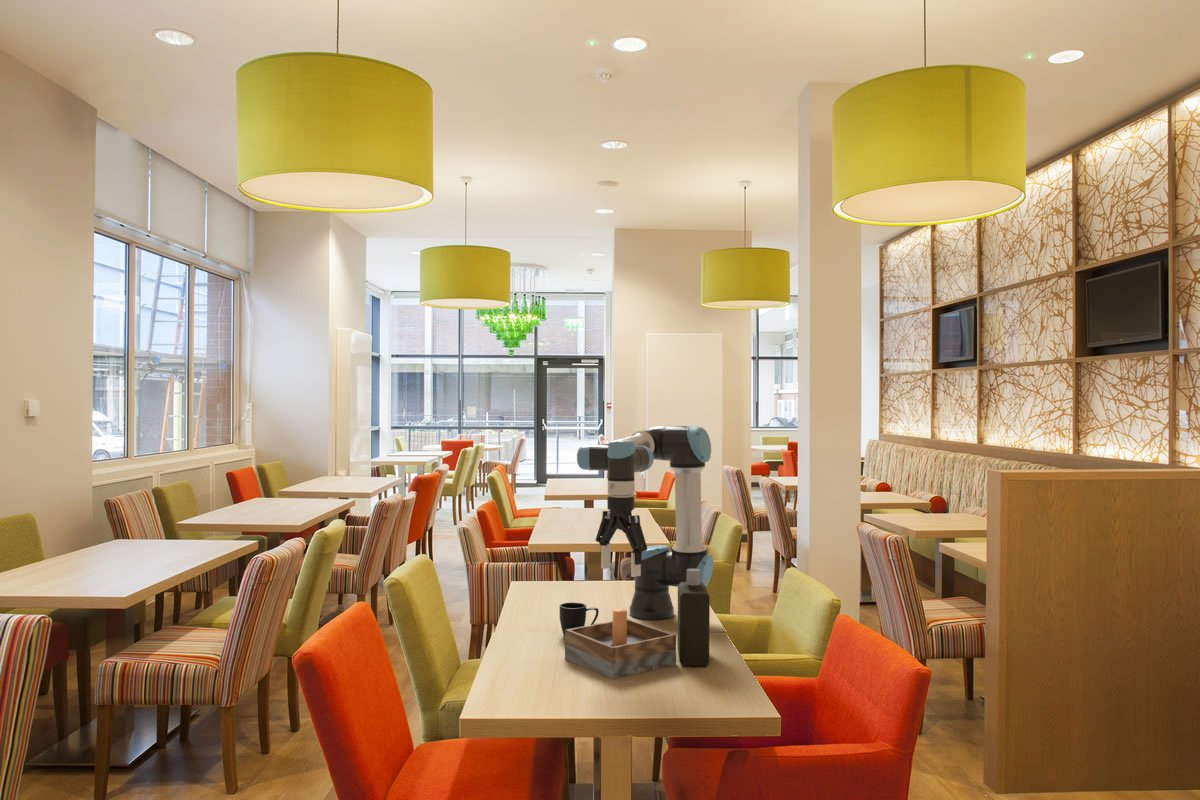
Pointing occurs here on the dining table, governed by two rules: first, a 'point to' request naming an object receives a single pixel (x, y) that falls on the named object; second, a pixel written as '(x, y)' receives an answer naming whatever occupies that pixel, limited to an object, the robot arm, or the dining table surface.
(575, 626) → the mug
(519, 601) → the dining table surface
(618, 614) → the peg
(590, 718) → the dining table surface
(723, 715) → the dining table surface
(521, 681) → the dining table surface
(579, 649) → the crate
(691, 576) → the bottle
